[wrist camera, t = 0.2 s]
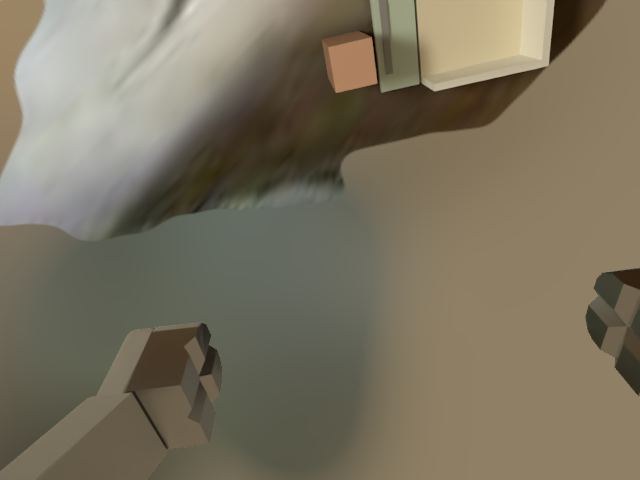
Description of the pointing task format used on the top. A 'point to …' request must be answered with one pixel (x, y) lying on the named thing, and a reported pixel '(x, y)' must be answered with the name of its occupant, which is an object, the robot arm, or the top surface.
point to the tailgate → (395, 43)
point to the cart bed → (480, 39)
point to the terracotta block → (350, 61)
